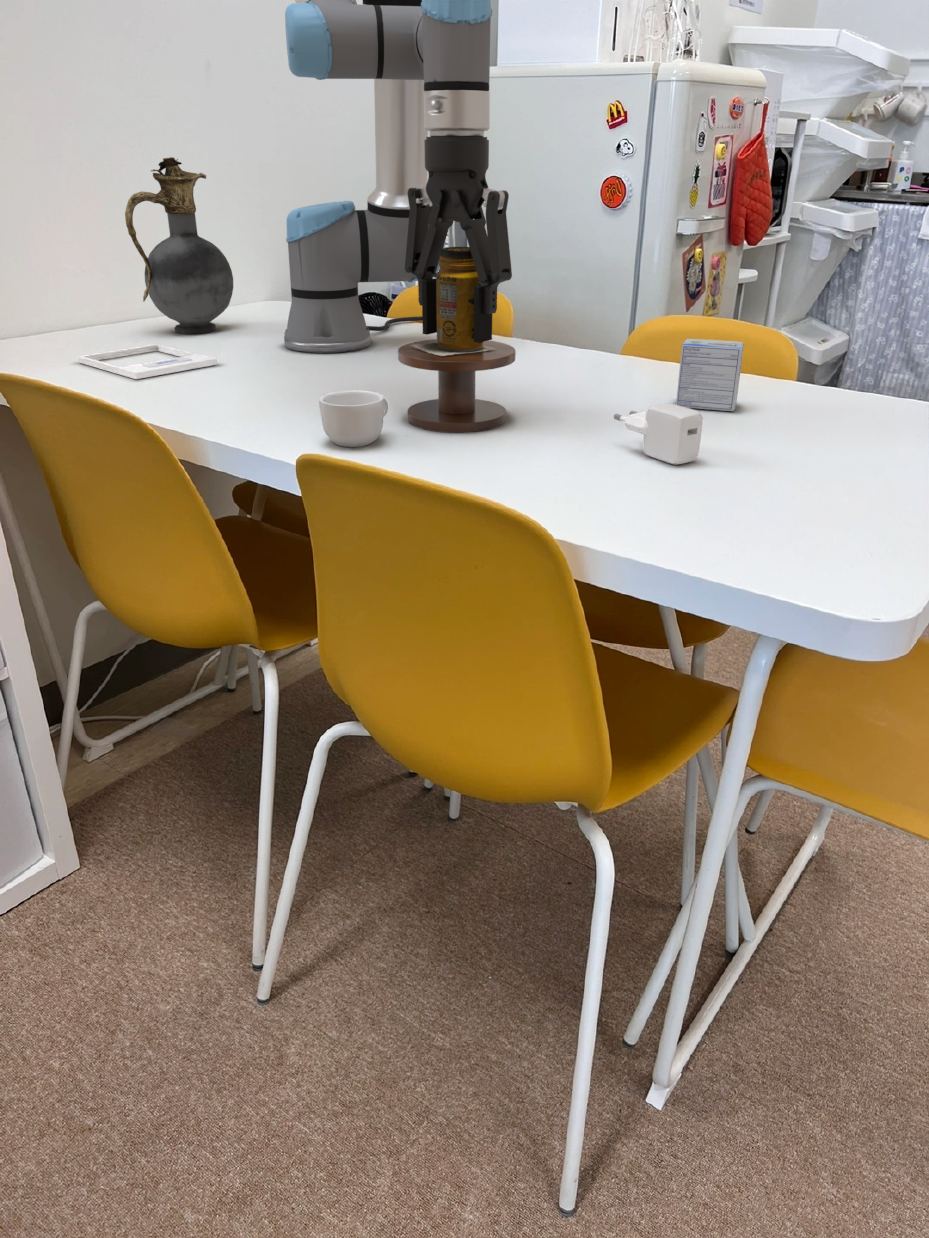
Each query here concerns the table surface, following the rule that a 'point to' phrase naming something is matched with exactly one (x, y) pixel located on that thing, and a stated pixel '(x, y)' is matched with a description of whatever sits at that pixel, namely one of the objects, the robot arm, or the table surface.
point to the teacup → (353, 416)
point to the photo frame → (151, 368)
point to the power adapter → (667, 432)
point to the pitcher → (182, 256)
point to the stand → (457, 388)
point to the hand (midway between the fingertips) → (456, 336)
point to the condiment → (455, 304)
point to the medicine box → (709, 374)
